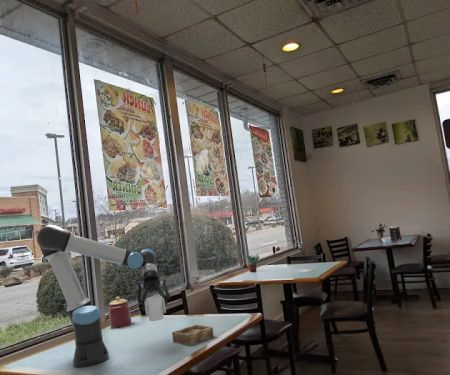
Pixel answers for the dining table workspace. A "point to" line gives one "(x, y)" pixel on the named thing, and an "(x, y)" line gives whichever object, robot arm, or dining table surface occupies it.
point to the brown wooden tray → (192, 334)
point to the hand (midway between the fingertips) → (155, 312)
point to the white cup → (155, 308)
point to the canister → (119, 313)
